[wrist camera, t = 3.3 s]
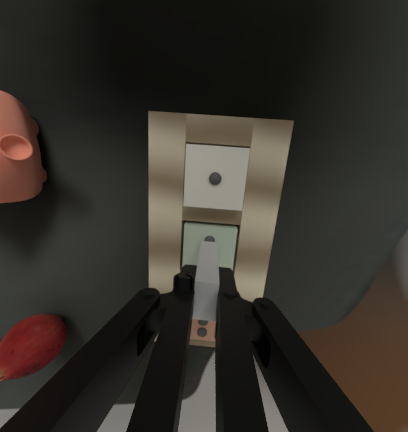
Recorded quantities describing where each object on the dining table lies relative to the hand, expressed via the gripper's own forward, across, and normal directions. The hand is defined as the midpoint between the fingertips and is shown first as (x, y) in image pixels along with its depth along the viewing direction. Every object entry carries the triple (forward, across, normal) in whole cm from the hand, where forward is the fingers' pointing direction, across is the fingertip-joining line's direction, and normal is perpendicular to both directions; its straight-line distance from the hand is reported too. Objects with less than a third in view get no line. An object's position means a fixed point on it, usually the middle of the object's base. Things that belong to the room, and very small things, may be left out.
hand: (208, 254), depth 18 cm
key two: (+4, 0, 0) cm, 4 cm away
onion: (+4, -19, -13) cm, 23 cm away
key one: (+2, 0, +7) cm, 8 cm away
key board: (+4, 0, 0) cm, 4 cm away
